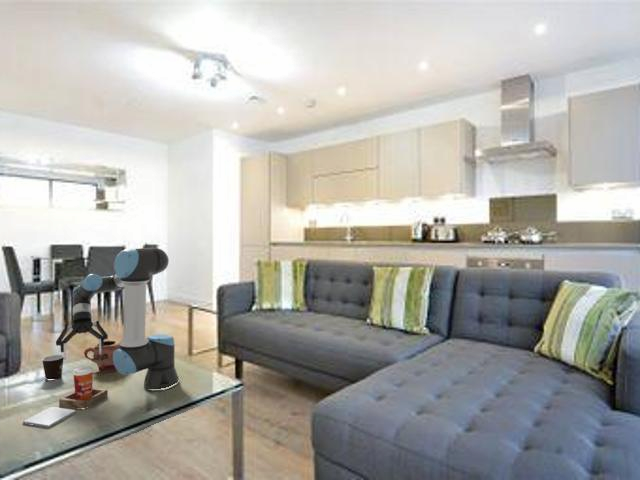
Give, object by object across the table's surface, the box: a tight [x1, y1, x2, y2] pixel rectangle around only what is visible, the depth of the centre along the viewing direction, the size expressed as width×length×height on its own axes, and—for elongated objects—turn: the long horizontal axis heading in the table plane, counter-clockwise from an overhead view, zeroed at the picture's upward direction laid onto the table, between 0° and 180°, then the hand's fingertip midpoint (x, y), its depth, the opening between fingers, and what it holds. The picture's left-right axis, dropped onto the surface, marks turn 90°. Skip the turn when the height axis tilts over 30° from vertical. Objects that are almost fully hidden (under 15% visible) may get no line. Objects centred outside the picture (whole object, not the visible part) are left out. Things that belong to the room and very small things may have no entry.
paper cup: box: [72, 365, 95, 401], centre depth 166 cm, size 8×8×14 cm
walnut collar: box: [58, 387, 108, 410], centre depth 167 cm, size 12×12×3 cm
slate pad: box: [22, 406, 77, 429], centre depth 152 cm, size 12×12×1 cm
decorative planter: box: [83, 340, 120, 373], centre depth 202 cm, size 20×12×14 cm, turn 106°
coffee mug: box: [41, 354, 64, 380], centre depth 192 cm, size 12×9×10 cm
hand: (82, 355), depth 175 cm, fingers open, 13 cm apart
